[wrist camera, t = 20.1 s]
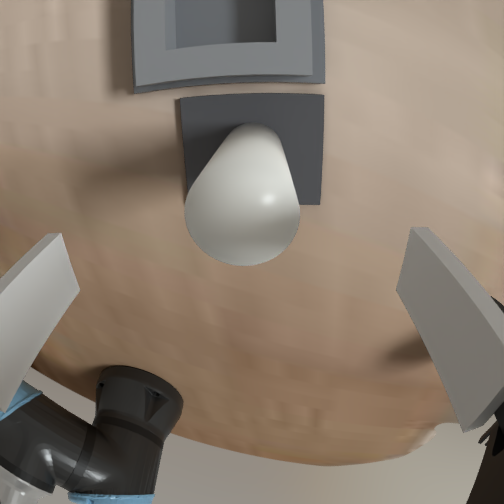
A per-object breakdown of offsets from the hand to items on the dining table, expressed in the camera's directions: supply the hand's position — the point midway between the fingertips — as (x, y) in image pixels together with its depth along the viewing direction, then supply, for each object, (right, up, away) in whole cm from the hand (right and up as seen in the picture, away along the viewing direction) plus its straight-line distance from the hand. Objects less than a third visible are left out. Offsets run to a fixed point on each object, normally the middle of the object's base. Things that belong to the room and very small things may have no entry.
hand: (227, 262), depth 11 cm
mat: (+1, +9, +15) cm, 18 cm away
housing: (-1, +24, +7) cm, 25 cm away
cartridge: (+1, +9, +15) cm, 17 cm away
